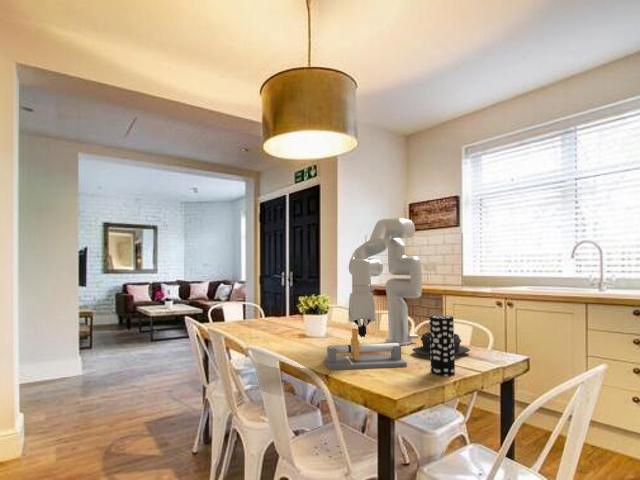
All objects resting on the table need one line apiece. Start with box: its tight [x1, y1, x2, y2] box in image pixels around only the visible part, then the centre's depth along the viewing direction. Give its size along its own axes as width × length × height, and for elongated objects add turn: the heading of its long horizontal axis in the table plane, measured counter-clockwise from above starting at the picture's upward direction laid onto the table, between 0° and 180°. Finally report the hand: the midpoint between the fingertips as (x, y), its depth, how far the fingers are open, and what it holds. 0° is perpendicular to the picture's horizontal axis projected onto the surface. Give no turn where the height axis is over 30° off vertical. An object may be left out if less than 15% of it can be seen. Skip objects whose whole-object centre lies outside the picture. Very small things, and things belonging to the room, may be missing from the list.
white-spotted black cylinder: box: [428, 314, 456, 377], centre depth 142 cm, size 8×8×20 cm
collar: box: [350, 328, 360, 360], centre depth 156 cm, size 2×7×11 cm, turn 6°
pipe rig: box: [324, 342, 408, 371], centre depth 156 cm, size 30×14×8 cm, turn 96°
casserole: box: [412, 331, 471, 356], centre depth 170 cm, size 25×19×8 cm
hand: (362, 336), depth 156 cm, fingers closed
